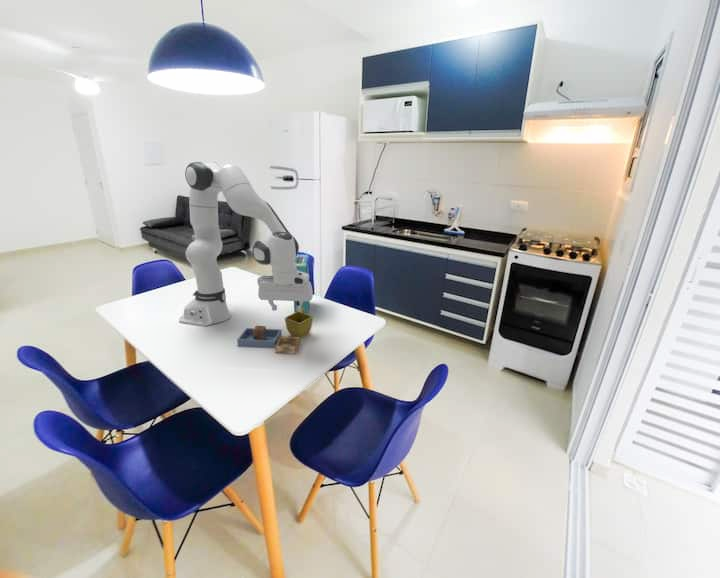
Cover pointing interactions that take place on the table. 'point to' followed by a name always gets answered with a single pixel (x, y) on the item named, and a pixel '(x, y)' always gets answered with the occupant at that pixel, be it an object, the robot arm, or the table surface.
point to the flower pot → (298, 324)
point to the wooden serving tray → (287, 345)
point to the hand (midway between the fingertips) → (286, 310)
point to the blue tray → (248, 340)
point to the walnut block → (259, 333)
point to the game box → (303, 266)
